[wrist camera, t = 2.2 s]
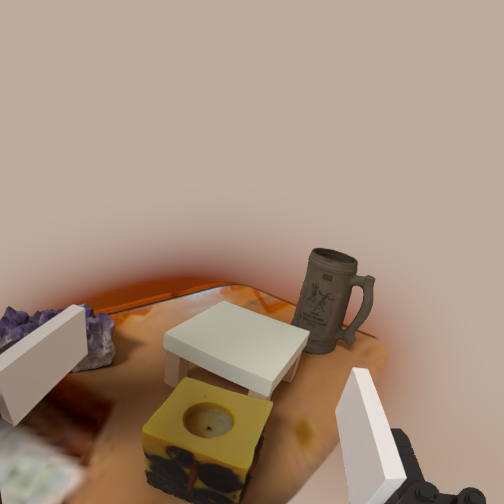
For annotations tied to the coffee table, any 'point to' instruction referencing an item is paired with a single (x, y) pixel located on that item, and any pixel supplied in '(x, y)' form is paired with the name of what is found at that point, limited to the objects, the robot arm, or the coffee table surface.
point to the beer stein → (330, 300)
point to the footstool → (235, 348)
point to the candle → (204, 443)
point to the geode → (22, 325)
